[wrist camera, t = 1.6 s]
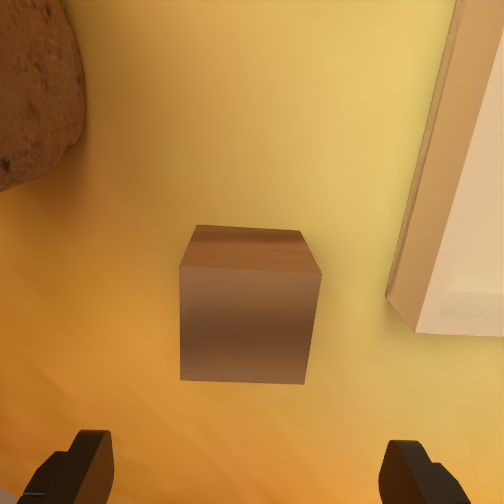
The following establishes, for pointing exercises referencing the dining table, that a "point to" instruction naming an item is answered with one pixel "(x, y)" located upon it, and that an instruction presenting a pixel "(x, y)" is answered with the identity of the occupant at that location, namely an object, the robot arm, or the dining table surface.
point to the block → (37, 88)
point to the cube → (247, 305)
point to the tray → (458, 189)
